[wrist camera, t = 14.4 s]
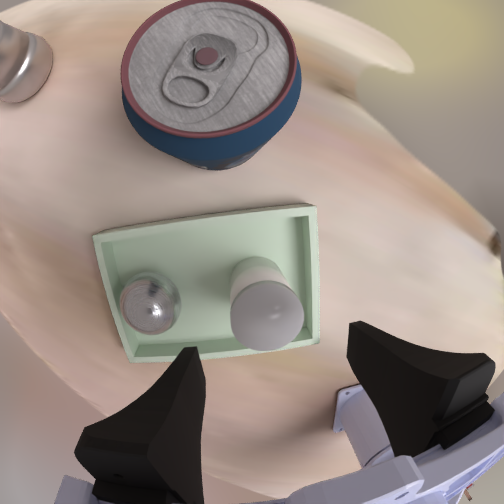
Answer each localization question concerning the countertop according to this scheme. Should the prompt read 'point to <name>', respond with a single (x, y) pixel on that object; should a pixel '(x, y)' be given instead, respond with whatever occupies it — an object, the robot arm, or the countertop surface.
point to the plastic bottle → (22, 63)
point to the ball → (150, 303)
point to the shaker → (263, 305)
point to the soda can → (210, 80)
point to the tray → (211, 274)
